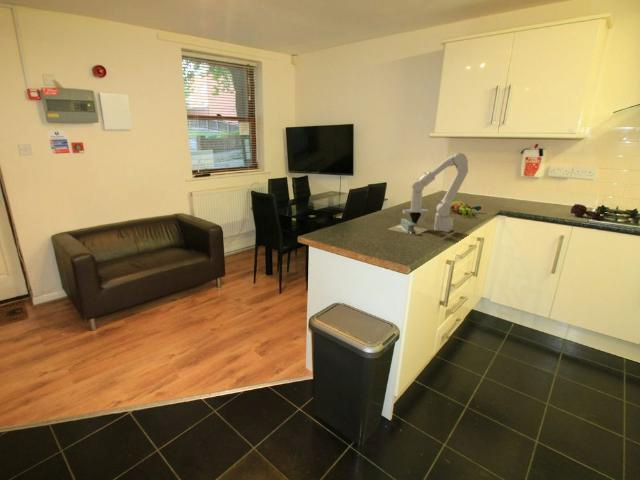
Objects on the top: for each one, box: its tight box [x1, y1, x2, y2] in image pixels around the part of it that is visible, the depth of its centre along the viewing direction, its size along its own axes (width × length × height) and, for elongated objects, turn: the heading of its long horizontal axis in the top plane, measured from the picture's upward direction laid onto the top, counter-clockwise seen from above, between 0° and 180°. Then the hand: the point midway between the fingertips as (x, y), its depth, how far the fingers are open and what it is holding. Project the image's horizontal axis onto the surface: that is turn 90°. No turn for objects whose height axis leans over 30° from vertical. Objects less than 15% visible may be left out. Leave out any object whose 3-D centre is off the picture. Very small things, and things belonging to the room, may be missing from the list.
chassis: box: [388, 223, 429, 236], centre depth 193 cm, size 18×15×5 cm
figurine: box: [570, 203, 605, 222], centre depth 225 cm, size 10×8×18 cm
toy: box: [450, 200, 482, 218], centre depth 239 cm, size 23×28×8 cm
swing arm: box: [400, 218, 417, 230], centre depth 191 cm, size 16×4×4 cm, turn 6°
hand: (414, 225), depth 196 cm, fingers closed
